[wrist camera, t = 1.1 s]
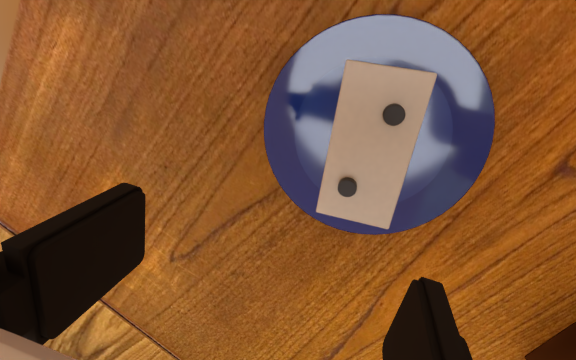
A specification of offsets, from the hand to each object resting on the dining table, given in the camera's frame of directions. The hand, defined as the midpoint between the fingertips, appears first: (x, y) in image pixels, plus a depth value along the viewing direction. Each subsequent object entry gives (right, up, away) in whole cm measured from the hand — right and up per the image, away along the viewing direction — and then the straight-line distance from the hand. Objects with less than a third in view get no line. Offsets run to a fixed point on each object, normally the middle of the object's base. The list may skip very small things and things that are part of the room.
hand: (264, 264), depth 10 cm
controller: (+7, +6, +12) cm, 15 cm away
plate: (+7, +6, +13) cm, 16 cm away
